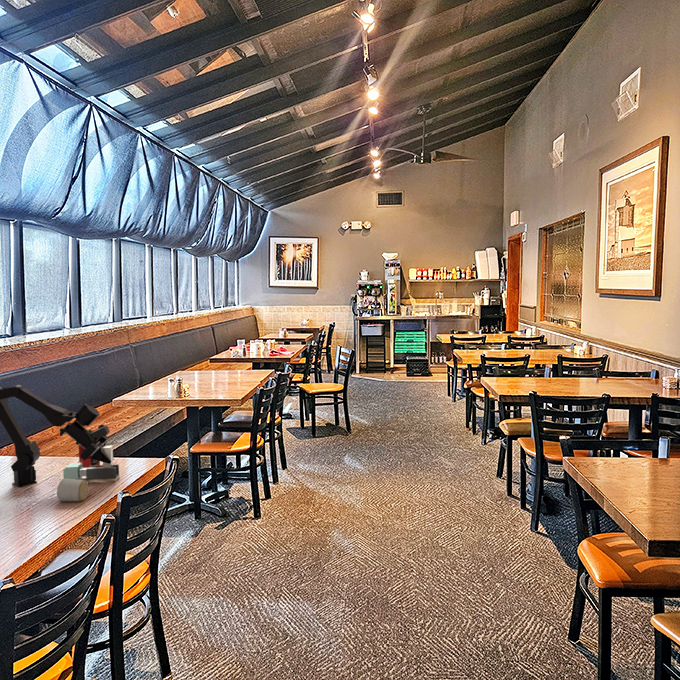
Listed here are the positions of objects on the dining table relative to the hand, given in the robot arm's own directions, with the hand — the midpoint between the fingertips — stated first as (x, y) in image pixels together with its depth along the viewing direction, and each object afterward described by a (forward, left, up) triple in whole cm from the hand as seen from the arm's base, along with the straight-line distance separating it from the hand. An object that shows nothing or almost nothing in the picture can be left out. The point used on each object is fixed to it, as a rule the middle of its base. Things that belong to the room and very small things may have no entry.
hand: (111, 461), depth 223 cm
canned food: (+4, +22, -7) cm, 24 cm away
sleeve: (-2, +3, -6) cm, 7 cm away
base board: (-5, +6, -7) cm, 11 cm away
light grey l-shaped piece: (-4, +4, -5) cm, 8 cm away
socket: (-10, +11, -6) cm, 16 cm away
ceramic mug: (-21, -9, -7) cm, 24 cm away
